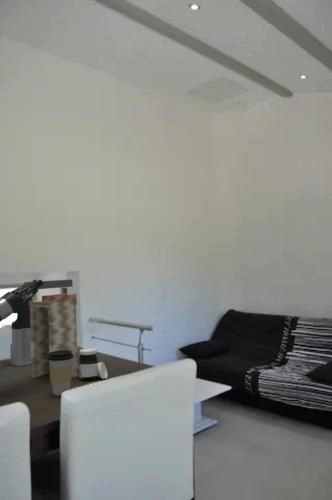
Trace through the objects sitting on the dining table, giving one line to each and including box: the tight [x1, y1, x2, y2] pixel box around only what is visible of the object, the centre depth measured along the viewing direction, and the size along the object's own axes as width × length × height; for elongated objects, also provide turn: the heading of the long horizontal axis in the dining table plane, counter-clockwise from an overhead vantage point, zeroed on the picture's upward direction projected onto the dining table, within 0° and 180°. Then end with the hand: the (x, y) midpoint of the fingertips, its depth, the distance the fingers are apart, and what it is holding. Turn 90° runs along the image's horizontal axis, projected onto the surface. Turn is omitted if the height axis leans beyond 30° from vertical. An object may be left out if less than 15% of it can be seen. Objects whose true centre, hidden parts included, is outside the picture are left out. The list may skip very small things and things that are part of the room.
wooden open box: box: [29, 293, 79, 383], centre depth 181 cm, size 13×16×34 cm
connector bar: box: [23, 279, 73, 290], centre depth 176 cm, size 21×3×3 cm, turn 139°
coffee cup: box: [47, 350, 74, 397], centre depth 157 cm, size 9×9×15 cm
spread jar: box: [78, 347, 108, 381], centre depth 176 cm, size 12×11×12 cm
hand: (39, 281), depth 172 cm, fingers closed on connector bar, 3 cm apart
